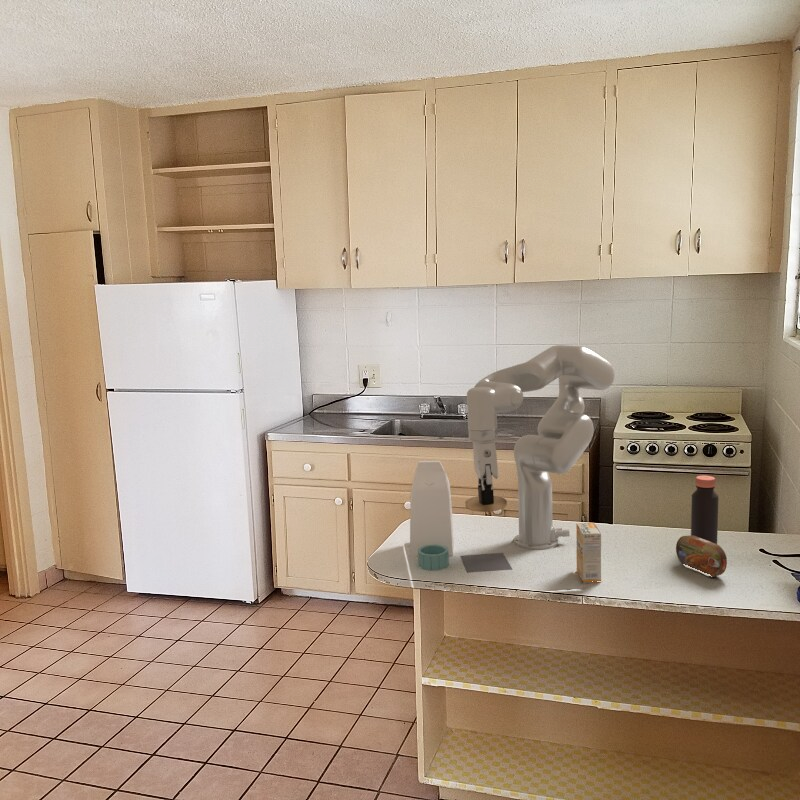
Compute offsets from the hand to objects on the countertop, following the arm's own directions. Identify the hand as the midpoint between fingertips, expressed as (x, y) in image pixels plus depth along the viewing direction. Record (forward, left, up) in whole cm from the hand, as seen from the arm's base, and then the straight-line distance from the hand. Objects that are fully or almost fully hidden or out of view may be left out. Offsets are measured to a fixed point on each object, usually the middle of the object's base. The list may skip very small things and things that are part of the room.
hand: (486, 500), depth 202 cm
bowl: (+15, -1, -17) cm, 23 cm away
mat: (+1, 0, -17) cm, 18 cm away
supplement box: (-23, +13, -18) cm, 32 cm away
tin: (-52, +14, -18) cm, 57 cm away
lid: (0, 0, -1) cm, 1 cm away
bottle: (-60, -1, -18) cm, 63 cm away
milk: (+13, -13, -18) cm, 26 cm away
